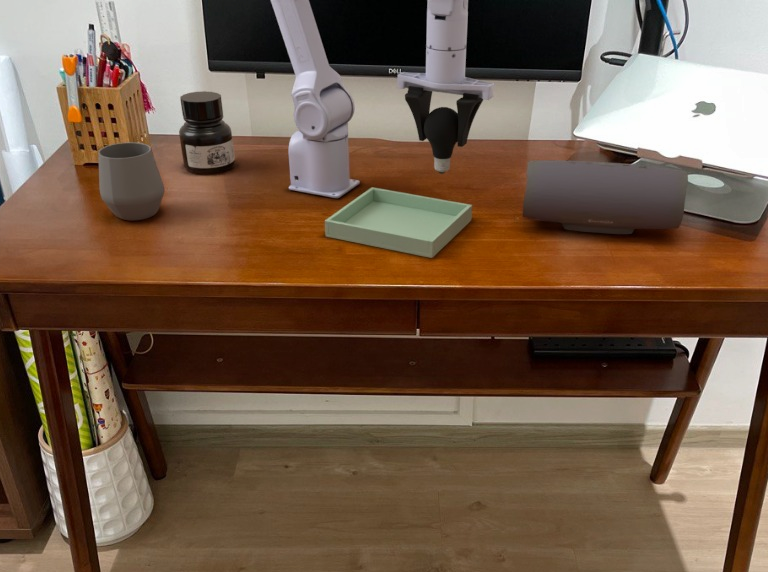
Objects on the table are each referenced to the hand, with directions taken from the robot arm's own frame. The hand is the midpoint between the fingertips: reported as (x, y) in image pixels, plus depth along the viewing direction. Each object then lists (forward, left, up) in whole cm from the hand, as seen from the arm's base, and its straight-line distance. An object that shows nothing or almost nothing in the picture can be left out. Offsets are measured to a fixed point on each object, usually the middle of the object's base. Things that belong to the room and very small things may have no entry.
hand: (443, 141), depth 126 cm
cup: (-41, -24, -10) cm, 49 cm away
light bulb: (0, 0, -5) cm, 5 cm away
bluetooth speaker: (+25, +2, -10) cm, 27 cm away
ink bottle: (-44, -1, -10) cm, 45 cm away
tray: (-2, -11, -10) cm, 15 cm away
